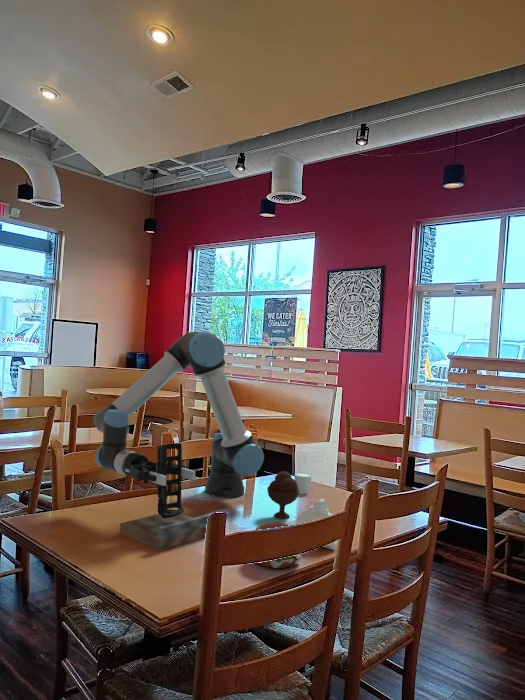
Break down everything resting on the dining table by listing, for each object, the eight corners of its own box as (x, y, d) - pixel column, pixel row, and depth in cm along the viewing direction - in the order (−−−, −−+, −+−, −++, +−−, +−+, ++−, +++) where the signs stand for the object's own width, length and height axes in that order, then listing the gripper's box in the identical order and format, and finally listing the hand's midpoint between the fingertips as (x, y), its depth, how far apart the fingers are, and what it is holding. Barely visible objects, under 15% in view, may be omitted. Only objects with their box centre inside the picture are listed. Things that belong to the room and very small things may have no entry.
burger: (250, 550, 154) (253, 514, 154) (299, 554, 153) (302, 518, 153) (247, 569, 140) (250, 530, 140) (301, 574, 140) (304, 534, 140)
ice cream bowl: (258, 515, 186) (261, 471, 186) (280, 510, 195) (283, 467, 195) (282, 524, 179) (285, 477, 179) (304, 517, 187) (307, 473, 187)
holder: (175, 519, 156) (174, 447, 156) (150, 518, 157) (149, 447, 158) (188, 509, 166) (187, 442, 167) (164, 508, 168) (163, 442, 169)
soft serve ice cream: (300, 537, 172) (312, 492, 174) (343, 554, 163) (355, 507, 165) (279, 537, 162) (293, 488, 164) (324, 555, 153) (337, 504, 155)
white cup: (311, 495, 218) (312, 477, 218) (293, 493, 219) (294, 476, 219) (309, 490, 225) (310, 473, 225) (292, 489, 225) (294, 472, 225)
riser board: (172, 520, 176) (173, 501, 176) (212, 535, 164) (214, 514, 164) (119, 533, 160) (120, 512, 160) (160, 551, 149) (161, 528, 149)
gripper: (159, 471, 182) (207, 485, 168) (99, 481, 165) (147, 497, 151) (161, 448, 182) (209, 461, 168) (101, 455, 165) (149, 470, 151)
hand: (180, 478), depth 159 cm, fingers closed on holder, 10 cm apart
